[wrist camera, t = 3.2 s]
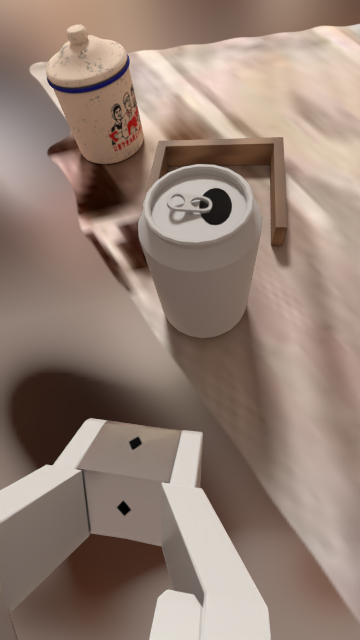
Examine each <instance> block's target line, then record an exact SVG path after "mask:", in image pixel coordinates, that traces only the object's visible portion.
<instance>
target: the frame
mask: <svg viewBox="0 0 360 640" xmlns="http://www.w3.org/2000/svg"><path fill="white" fill-rule="evenodd" d="M196 164H208V165H265V164H270V201H271V245H272V246H282V243H283V240H284V236H285V233H286V230H287V210H286V189H285V167H284V145H283V137H277V138H243V139H209V140H176V141H159V142H158V146H157V150H156V154H155V158H154V162H153V166H152V170H151V174H150V179H149V183H148V187H147V191H146V194H147V192H148V191H149V189H150V188H151V187H152V186H153V184H154V183H155V182H156V181H157V180H159V179H160V178H162V177H163V176H164V175H166V174H167V173H168V168H169V166H191V165H196ZM145 197H146V195H145ZM144 200H145V199H144ZM142 210H143V207H142ZM141 213H142V212H141Z"/></svg>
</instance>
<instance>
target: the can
mask: <svg viewBox="0 0 360 640" xmlns="http://www.w3.org/2000/svg"><path fill="white" fill-rule="evenodd" d="M262 218H263V217H262V214H261V211H260V208H259V205H258V203H257V202H256V201H255V198H254V195H253V192H252V189H251V186H250V185H249V184H248V183H247V181H246V180H245V179H244V178H243V177H242V176H241V175H239V174H237V173H235V172H234V171H232V170H230V169H228V168H224V167H221V166H217V165H208V164H196V165H191V166H185V167H181V168H179V169H176V170H174V171H171V172H169V173H167V174H166V175H164V176H163V177H162V178H160V179H159V180H157V181H156V182H155V183H154V184H153V186H152V187H151V188H150V189H149V191H148V192H147V194H146V197H145V200H144V203H143V210H142V213H141V216H140V219H139V222H138V231H139V240H140V243H141V245H142V248H143V251H144V254H145V257H146V260H147V263H148V266H149V269H150V272H151V275H152V278H153V281H154V284H155V287H156V290H157V293H158V296H159V299H160V302H161V305H162V308H163V311H164V313H165V315H166V317H167V319H168V321H169V322H170V323H171V324H172V325H173V326H174V327H175V328H176V329H177V330H178V331H180V332H182V333H184V334H186V335H189V336H192V337H199V338H208V337H215V336H219V335H221V334H223V333H225V332H227V331H230V330H231V329H232V328H233V327H234V326H235V325H236V324H237V323H238V322H239V321H240V320H241V318H242V316H243V314H244V312H245V310H246V306H247V300H248V295H249V290H250V285H251V280H252V275H253V270H254V265H255V260H256V255H257V250H258V245H259V240H260V235H261V228H262Z"/></svg>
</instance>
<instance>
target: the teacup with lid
mask: <svg viewBox="0 0 360 640" xmlns="http://www.w3.org/2000/svg"><path fill="white" fill-rule="evenodd" d="M67 37H68V40H69V41H68V42H66V43H65V44H64V46H63V47H62V48H61V50H60V51H59V52H58V53H56V54H55V55H54V56H53V57H52V58H51V59H50V61H49V62H48V64H47V68H46V75H47V81H48V83H49V85H50V86H51V87H52V88H53V89H54V91H55V94H56V96H57V98H58V100H59V103H60V105H61V107H62V110H63V112H64V114H65V117H66V119H67V121H68V124H69V126H70V128H71V131H72V133H73V135H74V138H75V140H76V142H77V145H78V147H79V149H80V152H81V153H82V155H83V156H84V157H85V158H86V159H87V160H89V161H91V162H93V163H98V164H112V163H117V162H120V161H123V160H125V159H127V158H129V157H130V156H132V155H133V154H134V153H136V152H137V151H138V149H139V148H140V147H141V145H142V143H143V130H142V126H141V121H140V117H139V112H138V108H137V103H136V98H135V94H134V89H133V85H132V80H131V75H130V71H129V63H130V62H129V56H128V55H127V53H126V51H125V49H124V48H123V47H122V46H121V45H120V44H119V43H117V42H114V41H111V40H105V39H100V38H98V37H95V36H90V35H88V34H87V30H86V28H85V27H84V26H83V25H74V26H71V27H70V28H68V30H67Z"/></svg>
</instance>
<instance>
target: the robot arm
mask: <svg viewBox="0 0 360 640" xmlns="http://www.w3.org/2000/svg"><path fill="white" fill-rule="evenodd" d="M202 446H203V433H202V432H197V431H187V430H183V431H182V430H174V429H165V428H157V427H148V426H141V425H135V424H128V423H121V422H115V421H106V420H99V419H92V418H90V419H88V420H86V421H85V422H84V423H83V425H82V426H81V428H80V429H79V430H78V432H77V433H76V434H75V436H74V437H73V438H72V440H71V441H70V443H69V444H68V445H67V447H66V448H65V450H64V451H63V452H62V453H61V455H60V456H59V458H58V459H57V460H56V462H55V463H54V464H53V466H51V465H45V466H44V467H42V468H40V469H38V470H36V471H35V472H33V473H31V474H29V475H28V476H26V477H24V478H22V479H20V480H19V481H17V482H15V483H13V484H12V485H10V486H8V487H6V488H4V489H2V490H1V491H0V640H18V638H17V634H16V631H15V628H14V624H13V621H12V617H11V614H10V612H11V611H12V610H13V609H14V608H16V607H17V606H18V605H19V604H20V603H21V602H22V601H23V600H24V599H25V598H26V597H27V596H28V595H29V594H30V593H31V592H32V591H33V590H34V589H35V588H36V587H37V586H38V585H39V584H40V583H41V582H42V581H43V580H44V579H45V578H46V577H47V576H48V575H49V574H50V573H51V572H53V571H54V570H55V569H56V568H57V567H58V566H59V565H60V564H61V563H62V562H63V561H64V560H65V559H66V558H67V557H68V556H69V555H70V554H71V553H72V552H73V551H74V550H75V549H76V548H77V547H78V546H79V545H80V544H81V543H82V542H83V541H84V540H85V539H86V538H87V537H88V536H89V533H93V534H99V535H106V536H113V537H119V538H126V539H130V540H135V541H139V542H144V543H149V544H153V545H158V546H162V549H163V553H164V557H165V560H166V564H167V568H168V571H169V575H170V578H171V582H172V585H173V589H174V591H173V590H166V591H165V592H164V593H163V594H162V595H161V596H159V597H158V600H157V605H156V610H155V615H154V619H153V624H152V630H151V634H150V639H149V640H271V636H270V626H269V615H268V607H267V606H266V604H265V602H264V600H263V598H262V597H261V595H260V593H259V591H258V589H257V587H256V586H255V584H254V582H253V580H252V578H251V576H250V575H249V573H248V571H247V569H246V567H245V566H244V564H243V562H242V560H241V558H240V557H239V555H238V553H237V551H236V549H235V548H234V546H233V544H232V542H231V540H230V538H229V536H228V535H227V533H226V531H225V529H224V527H223V525H222V524H221V522H220V520H219V518H218V516H217V515H216V513H215V511H214V509H213V507H212V505H211V504H210V502H209V500H208V498H207V496H206V494H205V493H204V491H203V489H201V488H200V479H201V464H202Z"/></svg>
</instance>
